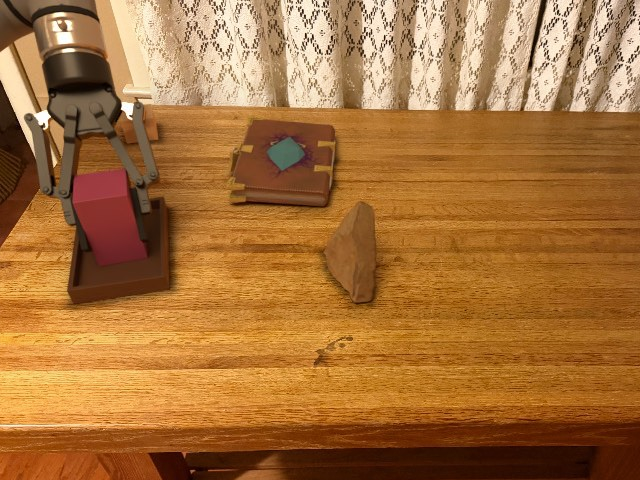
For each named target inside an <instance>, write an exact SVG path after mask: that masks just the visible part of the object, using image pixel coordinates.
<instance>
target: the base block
mask: <svg viewBox="0 0 640 480" xmlns="http://www.w3.org/2000/svg"><path fill="white" fill-rule="evenodd" d="M152 105H153V104H151V103H147V104H143V106H144V108H145V110H146V123H145V127H146V130H147V134H148V137H149V141H150V142H152V141H159V132H158V124H157V121H156V117H155V113H154V110H153V106H152ZM119 122H120V125H121V129H122V132H123V135H124V138H125V142H126V144H134V143H135V144H136V143H138V140H137V136H136V133H135V130H134V126H133V122H131V121H130V120H129V119H128V117H127V115H126V113H124V112H122V114H121V116H120V118H119Z"/></svg>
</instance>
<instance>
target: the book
mask: <svg viewBox="0 0 640 480" xmlns="http://www.w3.org/2000/svg"><path fill="white" fill-rule="evenodd" d="M246 127H247V129H246V132H245V136H244V138H243V141H240V142H239V145H235V146H234V147H233V149H232V151H229V162H228V166H227V171H226V172H228V173H232V176H231V177H230V178H229V179H228V180H227V181H226V182H227V183H226V186H225V188H226V189H228V190H230V192H229V193H228V196H227V201H228V202H231V203H246V202H258V203H273V204H285V205H286V204H287V205H299V206H301V205H302V206H313V207H314V206H315V207H324V206H325V205H327V203H328V201H329V196H330V195H329V194H330V190H331V187H333V171H334V162H335V160H336V139H335V138H336V129H335V127H334V126H333V124H323V123H311V122H301V121H289V120H279V119H269V118H268V119H266V118H263V117H262V116H261V117H260V116H256V115H251V116H247V118H246ZM235 151H236V152H235Z"/></svg>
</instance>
